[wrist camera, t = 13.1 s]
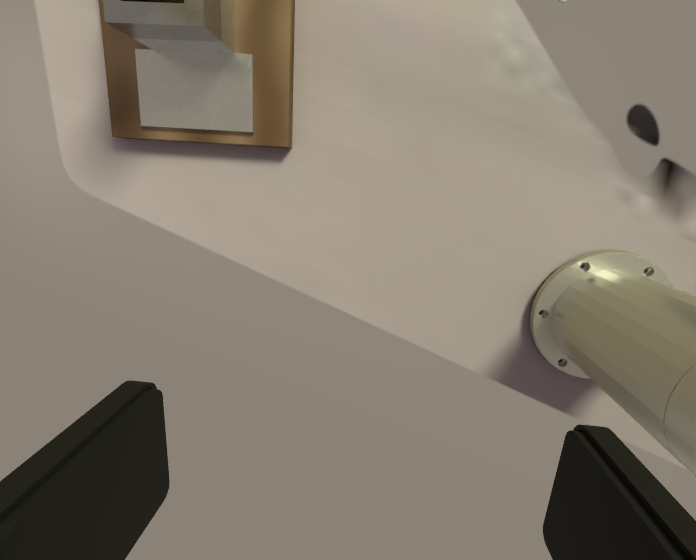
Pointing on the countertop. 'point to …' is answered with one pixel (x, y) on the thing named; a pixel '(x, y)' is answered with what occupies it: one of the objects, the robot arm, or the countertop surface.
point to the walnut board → (251, 38)
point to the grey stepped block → (188, 63)
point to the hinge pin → (170, 1)
